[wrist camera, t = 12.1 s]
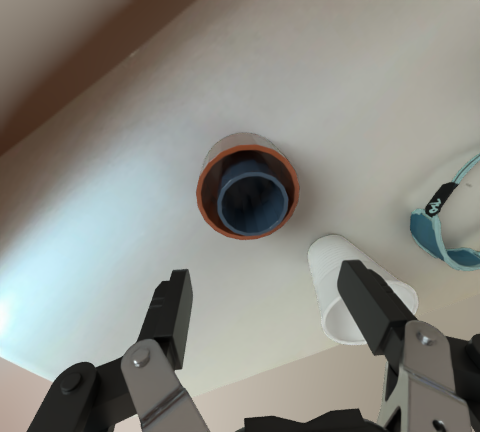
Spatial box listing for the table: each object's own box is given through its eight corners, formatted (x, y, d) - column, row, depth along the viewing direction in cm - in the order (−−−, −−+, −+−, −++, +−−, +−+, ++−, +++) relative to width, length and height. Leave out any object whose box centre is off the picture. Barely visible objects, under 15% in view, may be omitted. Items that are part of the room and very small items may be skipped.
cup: (284, 238, 31) (310, 303, 22) (354, 210, 30) (416, 266, 20) (304, 284, 36) (333, 355, 26) (366, 262, 34) (421, 328, 25)
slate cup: (217, 150, 25) (214, 173, 18) (272, 148, 25) (290, 170, 18) (221, 200, 28) (220, 237, 20) (270, 198, 28) (285, 234, 21)
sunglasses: (387, 226, 31) (418, 244, 27) (473, 129, 27) (526, 130, 23) (444, 266, 36) (480, 287, 31) (525, 187, 32) (579, 197, 27)
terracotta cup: (198, 134, 24) (189, 147, 18) (286, 131, 25) (304, 142, 19) (206, 212, 29) (202, 242, 23) (280, 208, 29) (294, 237, 23)
